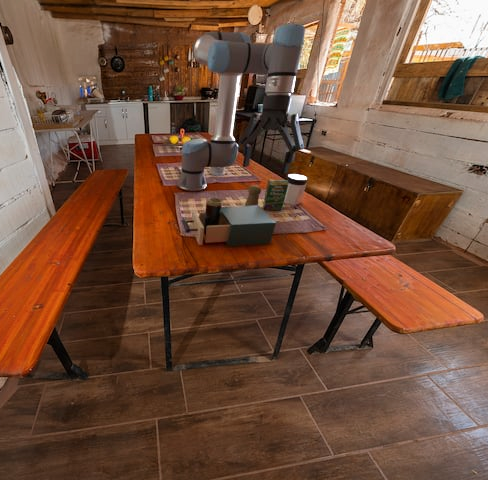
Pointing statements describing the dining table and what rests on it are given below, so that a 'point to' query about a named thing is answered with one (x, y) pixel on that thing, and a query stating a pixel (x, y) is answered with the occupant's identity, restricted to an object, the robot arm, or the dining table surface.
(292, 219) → the dining table surface
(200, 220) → the drawer
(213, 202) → the tin
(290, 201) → the jar
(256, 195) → the olive peanut shape
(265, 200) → the coffee box
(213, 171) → the french press
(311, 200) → the dining table surface
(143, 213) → the dining table surface
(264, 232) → the cabinet
